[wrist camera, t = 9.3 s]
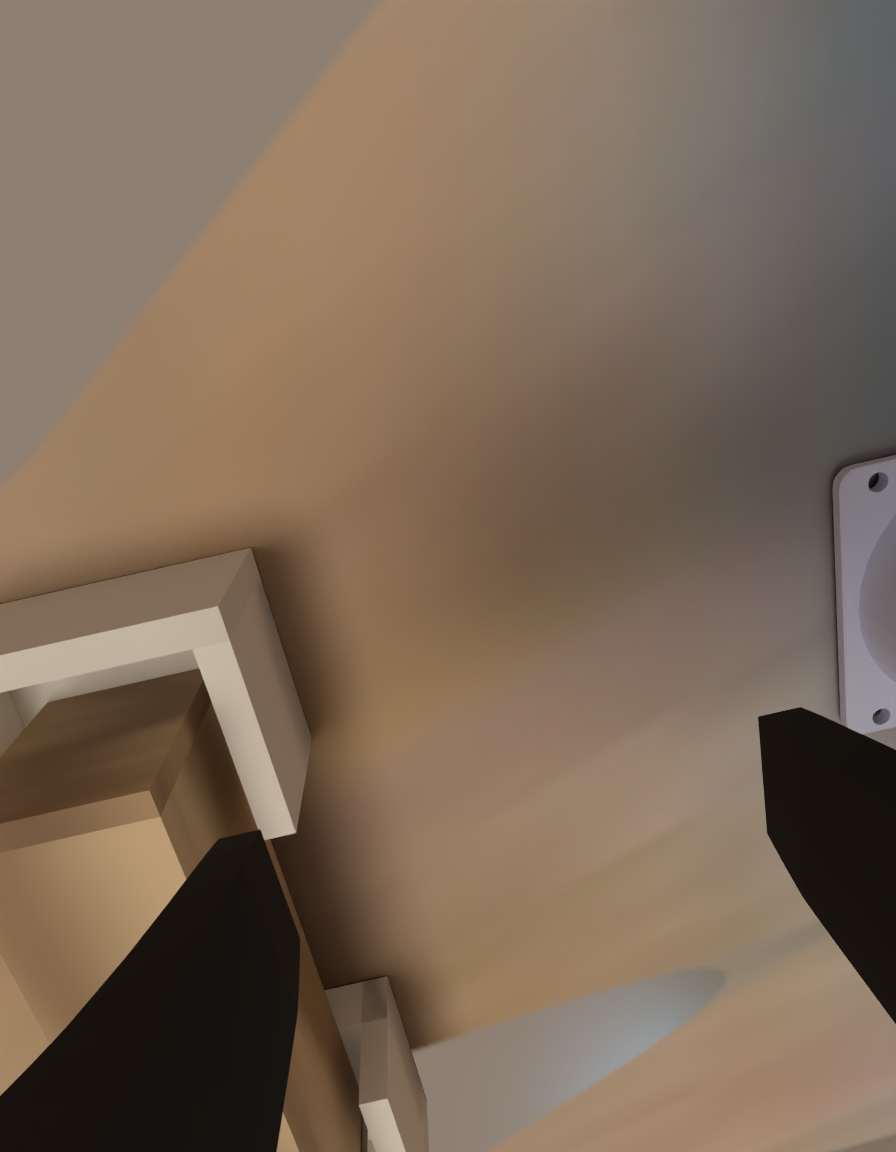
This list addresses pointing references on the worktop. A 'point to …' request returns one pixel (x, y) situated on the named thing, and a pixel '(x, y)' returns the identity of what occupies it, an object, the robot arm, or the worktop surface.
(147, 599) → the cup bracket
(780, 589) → the worktop surface
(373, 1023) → the cup bracket
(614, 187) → the worktop surface
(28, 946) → the oak rail
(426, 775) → the worktop surface
